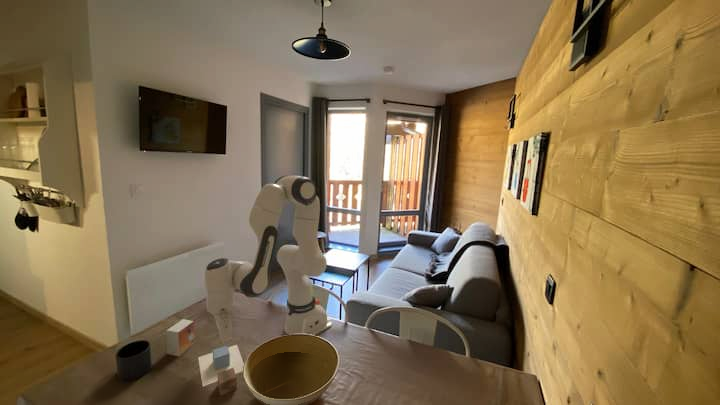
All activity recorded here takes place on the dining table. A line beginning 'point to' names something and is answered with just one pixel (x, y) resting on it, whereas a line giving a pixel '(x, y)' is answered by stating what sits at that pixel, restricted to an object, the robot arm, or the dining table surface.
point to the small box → (180, 337)
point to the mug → (133, 360)
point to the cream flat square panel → (211, 374)
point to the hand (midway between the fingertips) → (223, 336)
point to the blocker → (227, 381)
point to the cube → (221, 357)
